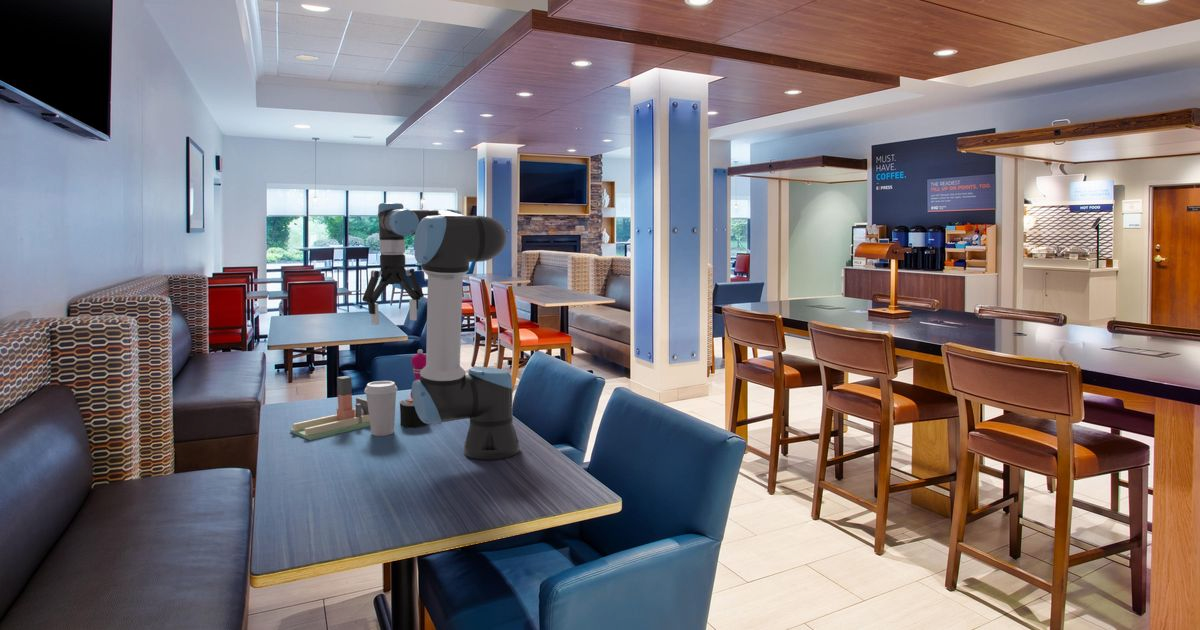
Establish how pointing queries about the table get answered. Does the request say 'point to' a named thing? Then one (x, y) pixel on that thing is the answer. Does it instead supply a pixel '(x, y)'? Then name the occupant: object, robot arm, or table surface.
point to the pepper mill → (418, 364)
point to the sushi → (409, 414)
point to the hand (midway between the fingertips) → (394, 322)
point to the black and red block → (344, 398)
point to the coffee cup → (381, 406)
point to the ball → (361, 412)
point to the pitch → (333, 423)
